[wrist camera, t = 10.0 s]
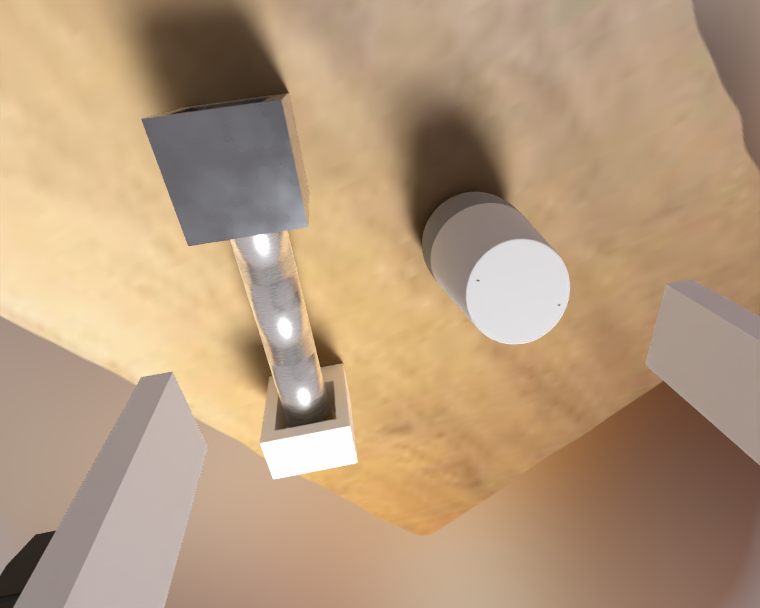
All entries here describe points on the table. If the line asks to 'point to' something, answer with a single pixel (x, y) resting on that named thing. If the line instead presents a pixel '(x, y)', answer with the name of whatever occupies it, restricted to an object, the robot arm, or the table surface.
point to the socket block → (310, 432)
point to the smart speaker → (496, 267)
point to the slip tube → (283, 325)
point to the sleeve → (232, 167)
